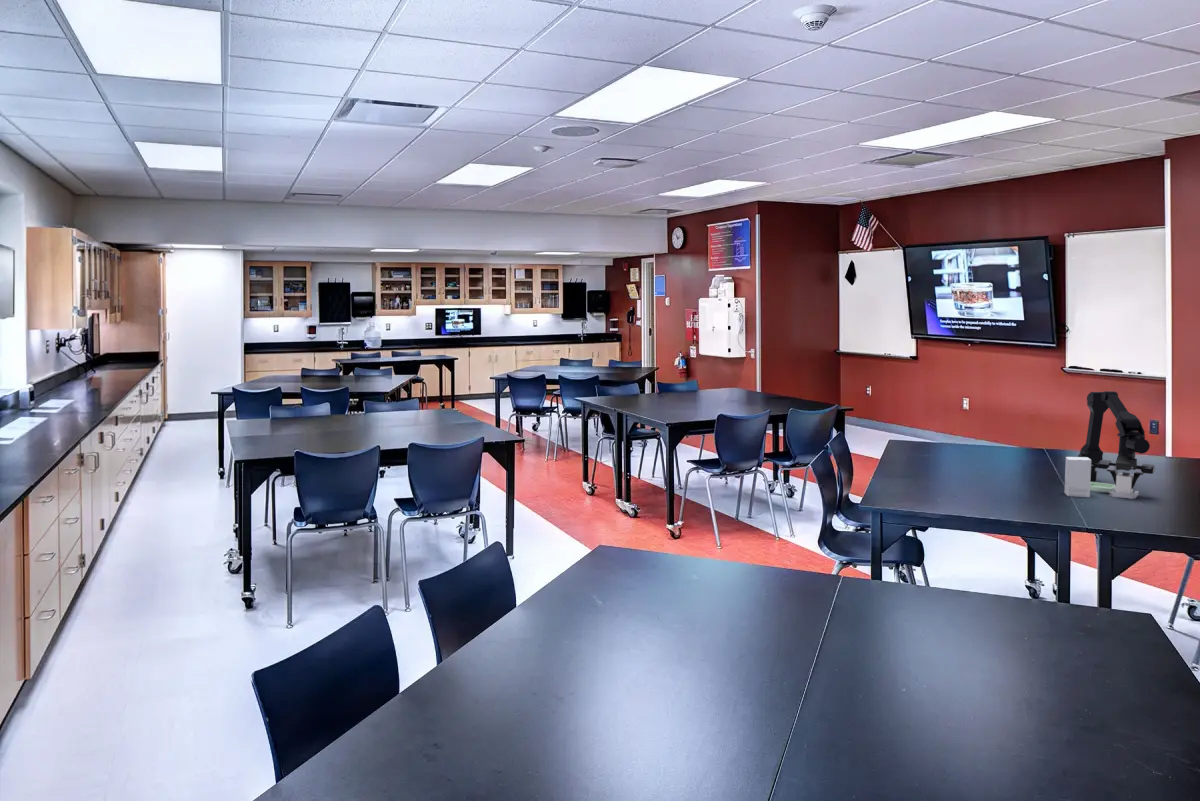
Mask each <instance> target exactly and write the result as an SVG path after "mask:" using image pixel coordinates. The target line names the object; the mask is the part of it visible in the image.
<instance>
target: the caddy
mask: <svg viewBox="0 0 1200 801" xmlns="http://www.w3.org/2000/svg"><path fill="white" fill-rule="evenodd" d="M1133 477H1134V473H1133V474H1131V473H1130V472H1129V471H1123V472H1122V473H1121V472H1120V473H1118V475H1117V476H1116V491H1115V493H1122V494H1131V495H1132V494H1133V493H1134V488H1133V489H1132V482H1133Z"/></svg>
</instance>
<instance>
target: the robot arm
mask: <svg viewBox="0 0 1200 801" xmlns="http://www.w3.org/2000/svg"><path fill="white" fill-rule="evenodd" d="M1086 402H1087V407H1088V409H1089V411H1090V412H1089V413H1090V414H1089V419H1088V426H1087V433H1086V434H1087V435H1086V440H1085V444H1084V445H1083V446H1082V447H1081V448H1080V451H1079V453H1078V456H1077V457H1088V458H1089V459H1091V460H1092V461H1091V480H1090V483H1091V482H1097V481H1098V473H1099V472H1098V470H1097V469H1101V470H1106V472H1109V473H1110V474H1111V477H1112V479H1113V482H1114V483H1113V484H1115V486H1116V476H1117V475H1118V474H1119V473H1118V472H1119V471H1125V472H1129V471H1131V470H1133V471H1134V473H1133V475H1134V477H1133V482H1132V489H1133V490H1134V488H1135V486H1136V483H1137V482H1138V479H1139V477H1140V476H1143V475H1145V474H1150V475H1153V474H1154V473H1155V470H1156V466H1155V465H1154V464H1147V463H1142V464H1141V465H1138V458H1136V453H1138V454H1141V455H1142V454H1146V453H1147V452H1148V451H1149V449H1151V448H1150V446H1151V445H1150V442H1149V441H1148V439H1147V440H1146V435H1145V430H1144V429H1145V428H1143V426H1142V423H1141V420H1140V419H1139V417H1137V416H1136V415H1135V414H1133V413H1131V412H1129V410H1128V409H1127V408H1126V406H1125V405H1124V403H1123V401H1122V400H1121V399H1120V397H1119V394H1118V391H1115V390H1113V391H1111V390H1110V391H1109V390H1106V391H1091V392H1090V393H1088V394H1087V395H1086ZM1108 409H1109V410H1110V411H1111V413H1112V414H1113V416H1114V418H1115V419H1116V420H1115V423H1114V424H1115V426H1116V430H1118V433H1117V437H1119V438H1118V453H1117V454H1118V455H1117V456H1116V460H1115V462H1112V460H1109V459H1108V460H1107V459H1104V457H1103V456H1104V455H1103V454H1104V452H1103V450H1102V449H1101V448H1100V442H1101V441H1100V439H1101V434H1102V426H1103V420H1104V416H1105V415H1104V414H1105V413H1106V412H1107V410H1108Z"/></svg>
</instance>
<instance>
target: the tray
mask: <svg viewBox="0 0 1200 801" xmlns="http://www.w3.org/2000/svg"><path fill="white" fill-rule="evenodd" d="M1113 489H1116V486H1115V483H1106V482H1098V481H1095V482H1090V492H1091V491H1092V492H1098V493H1100V492H1101V493H1109V492H1110V491H1112V490H1113Z"/></svg>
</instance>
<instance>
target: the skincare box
mask: <svg viewBox="0 0 1200 801" xmlns="http://www.w3.org/2000/svg"><path fill="white" fill-rule="evenodd" d="M1091 461H1092V460H1091V459H1089V458H1088V457H1078V456H1065V469H1064V470H1065V472H1064V494H1065V495H1066V496H1067V497H1077V498H1079V497H1081V498H1091V491H1090V483H1091V482H1090V480H1091Z"/></svg>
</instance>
